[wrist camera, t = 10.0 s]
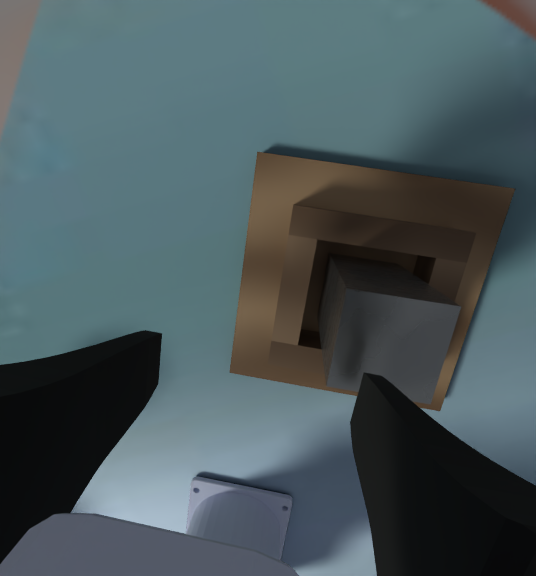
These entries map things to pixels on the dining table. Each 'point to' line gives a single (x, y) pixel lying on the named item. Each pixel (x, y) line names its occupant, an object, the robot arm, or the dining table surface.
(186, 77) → the dining table surface
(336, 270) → the metal pin
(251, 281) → the socket holder
